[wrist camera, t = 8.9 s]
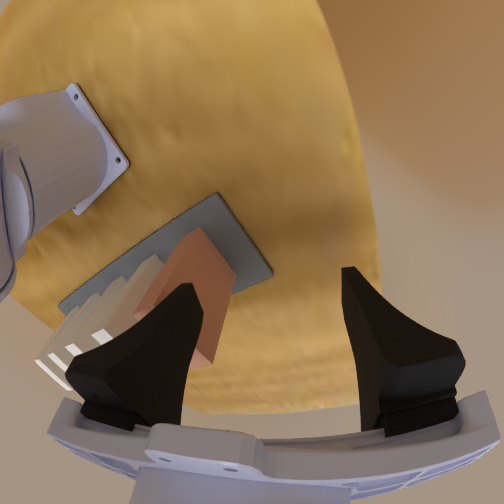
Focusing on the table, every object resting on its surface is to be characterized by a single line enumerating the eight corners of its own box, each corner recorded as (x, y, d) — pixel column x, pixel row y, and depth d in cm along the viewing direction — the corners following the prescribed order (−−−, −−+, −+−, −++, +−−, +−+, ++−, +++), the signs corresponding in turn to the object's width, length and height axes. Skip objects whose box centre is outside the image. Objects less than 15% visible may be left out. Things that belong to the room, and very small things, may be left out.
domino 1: (71, 309, 29) (34, 361, 21) (77, 305, 28) (38, 359, 20) (98, 337, 30) (67, 390, 23) (105, 334, 30) (73, 390, 22)
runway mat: (58, 304, 29) (57, 306, 29) (217, 191, 20) (216, 193, 19) (99, 346, 32) (97, 348, 32) (273, 273, 23) (273, 276, 22)
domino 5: (182, 236, 21) (132, 314, 14) (200, 226, 21) (153, 305, 13) (218, 282, 23) (189, 369, 16) (236, 275, 23) (212, 364, 15)
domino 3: (112, 281, 25) (64, 346, 17) (121, 275, 24) (73, 343, 17) (144, 316, 27) (108, 385, 19) (155, 312, 26) (118, 384, 19)
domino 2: (89, 297, 27) (47, 355, 19) (96, 292, 26) (52, 352, 18) (118, 328, 29) (84, 388, 21) (127, 324, 28) (92, 387, 20)
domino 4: (142, 262, 23) (90, 334, 16) (155, 253, 23) (103, 328, 15) (177, 302, 25) (141, 379, 17) (190, 295, 25) (157, 377, 17)
